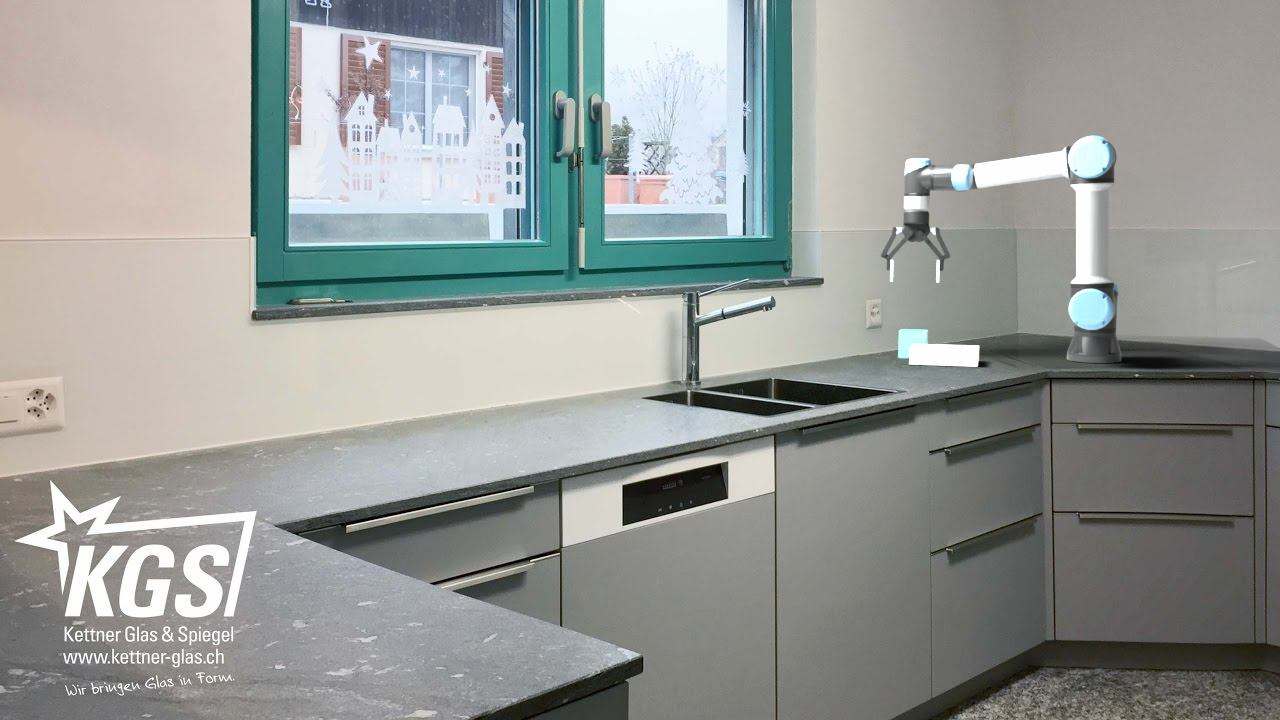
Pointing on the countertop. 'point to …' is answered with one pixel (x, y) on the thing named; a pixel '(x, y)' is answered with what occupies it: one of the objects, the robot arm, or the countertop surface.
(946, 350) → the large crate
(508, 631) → the countertop surface
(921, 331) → the small crate
